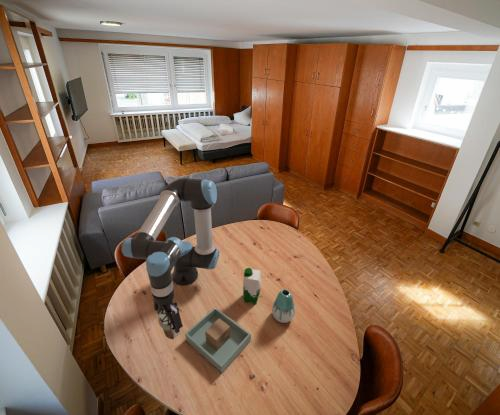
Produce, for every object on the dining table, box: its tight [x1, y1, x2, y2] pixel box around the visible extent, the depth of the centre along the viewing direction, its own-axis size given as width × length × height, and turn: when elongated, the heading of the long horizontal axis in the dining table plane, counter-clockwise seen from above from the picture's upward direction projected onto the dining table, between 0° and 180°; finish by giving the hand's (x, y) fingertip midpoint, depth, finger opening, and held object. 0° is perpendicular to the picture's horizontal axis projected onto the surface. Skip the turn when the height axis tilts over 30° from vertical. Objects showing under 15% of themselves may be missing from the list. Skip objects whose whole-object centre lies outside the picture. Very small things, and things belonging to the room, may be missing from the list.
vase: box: [271, 288, 296, 324], centre depth 134 cm, size 12×12×18 cm
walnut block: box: [205, 318, 230, 351], centre depth 124 cm, size 9×7×8 cm
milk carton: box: [242, 267, 262, 305], centre depth 143 cm, size 9×9×20 cm
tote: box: [184, 307, 252, 374], centre depth 125 cm, size 24×20×5 cm
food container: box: [157, 301, 179, 340], centre depth 108 cm, size 12×6×10 cm, turn 179°
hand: (170, 329), depth 109 cm, fingers closed on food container, 8 cm apart
